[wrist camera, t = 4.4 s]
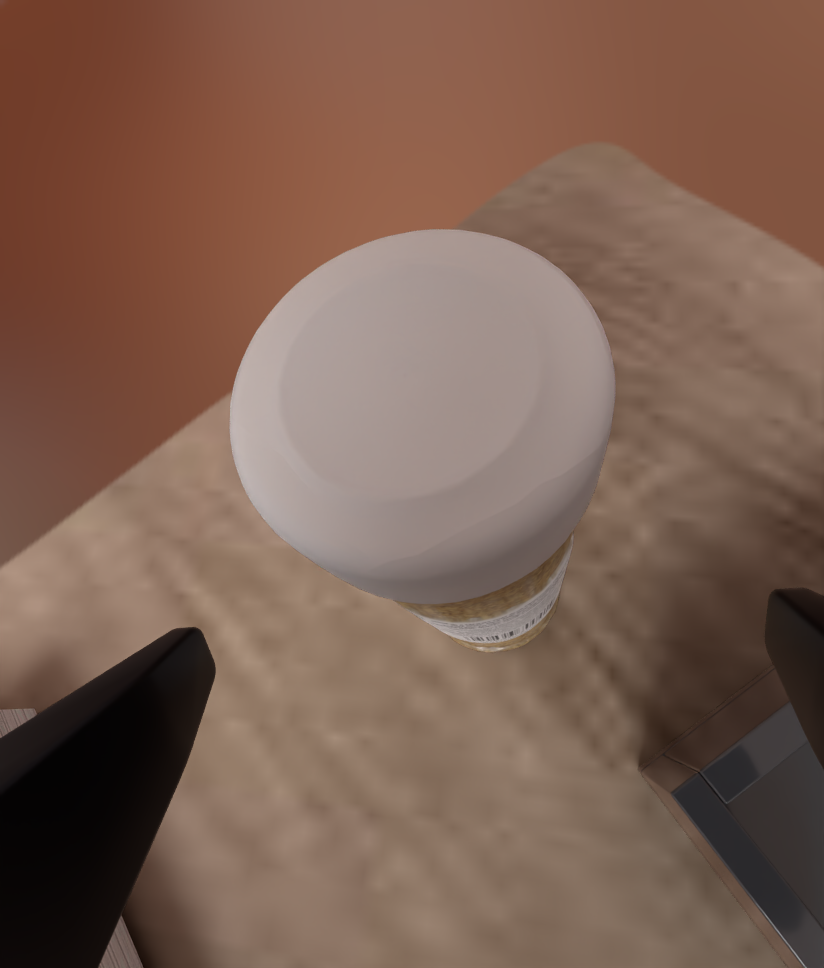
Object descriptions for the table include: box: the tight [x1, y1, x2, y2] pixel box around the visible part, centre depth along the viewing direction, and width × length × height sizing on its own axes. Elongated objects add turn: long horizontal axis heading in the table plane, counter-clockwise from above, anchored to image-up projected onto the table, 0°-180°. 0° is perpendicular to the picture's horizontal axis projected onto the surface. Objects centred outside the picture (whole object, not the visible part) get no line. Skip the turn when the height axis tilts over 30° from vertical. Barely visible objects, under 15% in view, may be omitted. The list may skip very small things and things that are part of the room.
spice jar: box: [230, 229, 616, 653], centre depth 12 cm, size 5×5×14 cm
